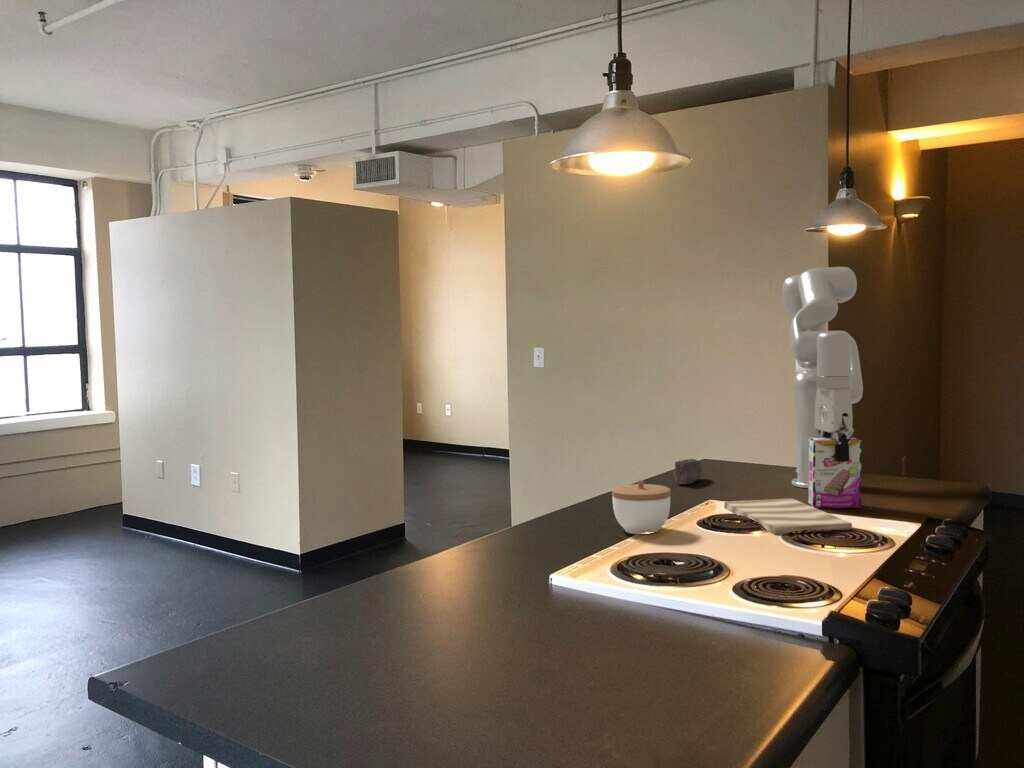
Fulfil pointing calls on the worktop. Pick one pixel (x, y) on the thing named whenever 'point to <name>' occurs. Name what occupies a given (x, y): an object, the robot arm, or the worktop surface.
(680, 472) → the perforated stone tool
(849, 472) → the candy bar box
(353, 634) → the worktop surface
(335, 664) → the worktop surface
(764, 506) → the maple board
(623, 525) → the lidded bowl
